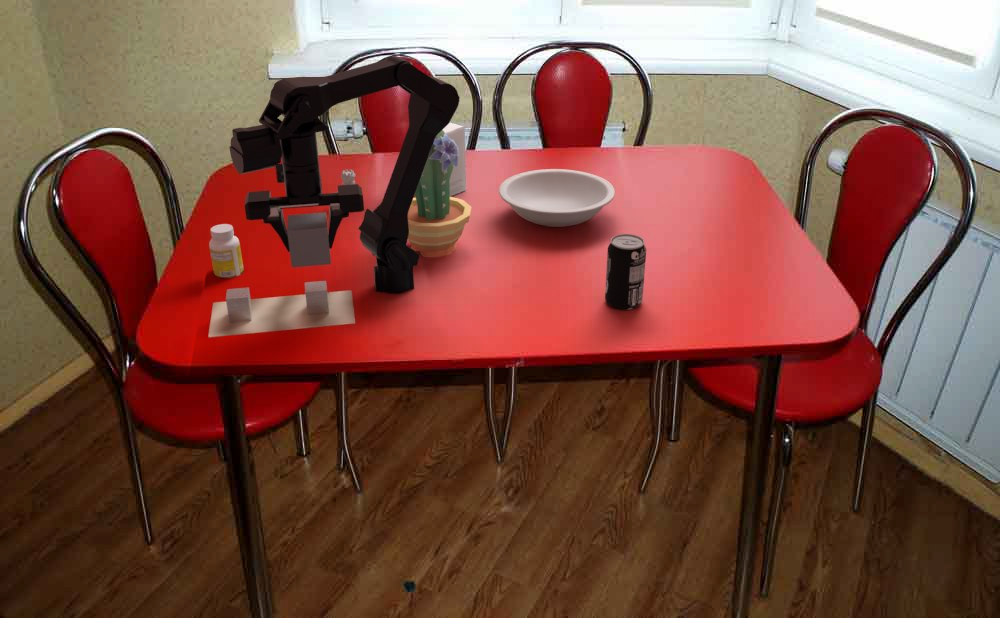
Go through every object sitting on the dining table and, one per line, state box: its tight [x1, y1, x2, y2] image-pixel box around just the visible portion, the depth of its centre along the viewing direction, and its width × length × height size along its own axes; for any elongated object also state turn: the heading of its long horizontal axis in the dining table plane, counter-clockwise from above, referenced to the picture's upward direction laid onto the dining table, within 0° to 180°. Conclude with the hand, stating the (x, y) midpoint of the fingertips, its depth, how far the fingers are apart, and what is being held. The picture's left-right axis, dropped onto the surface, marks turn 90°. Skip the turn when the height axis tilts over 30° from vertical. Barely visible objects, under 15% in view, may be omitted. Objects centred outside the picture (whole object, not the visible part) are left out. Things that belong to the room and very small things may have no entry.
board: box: [208, 290, 356, 338], centre depth 165 cm, size 24×12×1 cm, turn 101°
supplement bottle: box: [208, 223, 245, 279], centre depth 177 cm, size 5×5×10 cm
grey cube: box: [304, 280, 329, 315], centre depth 165 cm, size 4×4×4 cm
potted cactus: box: [407, 130, 472, 258], centre depth 184 cm, size 15×15×25 cm
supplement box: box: [443, 122, 467, 197], centre depth 212 cm, size 9×9×15 cm
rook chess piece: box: [340, 169, 357, 185], centre depth 206 cm, size 4×4×8 cm
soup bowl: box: [498, 168, 616, 228], centre depth 200 cm, size 24×24×7 cm
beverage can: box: [604, 233, 647, 311], centre depth 167 cm, size 7×7×12 cm
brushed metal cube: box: [225, 287, 252, 323], centre depth 163 cm, size 4×4×4 cm
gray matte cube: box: [286, 211, 332, 269], centre depth 159 cm, size 6×6×7 cm
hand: (310, 249), depth 160 cm, fingers closed on gray matte cube, 6 cm apart
